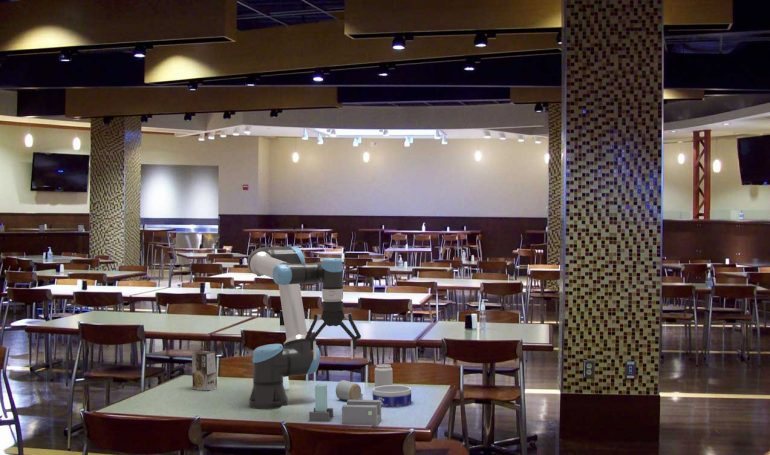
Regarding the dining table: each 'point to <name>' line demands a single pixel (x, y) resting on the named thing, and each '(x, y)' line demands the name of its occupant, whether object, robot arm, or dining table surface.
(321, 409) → the plug
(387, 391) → the dog bowl
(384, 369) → the can
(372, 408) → the port
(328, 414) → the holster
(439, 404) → the dining table surface
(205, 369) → the coffee box
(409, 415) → the dining table surface
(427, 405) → the dining table surface
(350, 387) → the ceramic mug
